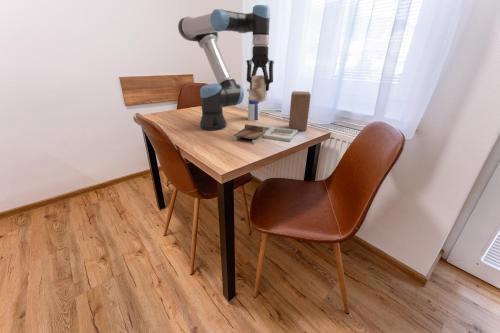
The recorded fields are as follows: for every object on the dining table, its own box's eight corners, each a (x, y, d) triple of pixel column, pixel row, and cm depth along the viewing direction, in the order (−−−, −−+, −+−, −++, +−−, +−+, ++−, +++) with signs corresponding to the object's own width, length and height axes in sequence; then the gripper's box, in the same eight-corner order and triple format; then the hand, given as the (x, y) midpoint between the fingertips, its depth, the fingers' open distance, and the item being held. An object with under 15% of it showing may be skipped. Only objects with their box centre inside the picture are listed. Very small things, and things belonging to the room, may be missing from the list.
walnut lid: (234, 136, 108) (233, 130, 107) (244, 129, 118) (244, 124, 117) (256, 139, 104) (256, 133, 103) (265, 132, 114) (265, 126, 112)
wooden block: (306, 131, 122) (311, 94, 113) (288, 130, 124) (291, 93, 115) (305, 126, 131) (310, 91, 122) (289, 125, 132) (292, 90, 124)
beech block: (251, 101, 112) (251, 76, 107) (255, 99, 117) (256, 75, 112) (262, 102, 110) (263, 76, 105) (266, 100, 115) (267, 75, 110)
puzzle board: (231, 140, 109) (231, 137, 108) (252, 126, 130) (252, 124, 129) (284, 148, 99) (284, 145, 98) (297, 132, 120) (297, 129, 119)
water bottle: (254, 116, 151) (255, 78, 140) (261, 119, 145) (263, 79, 134) (244, 118, 148) (244, 78, 136) (251, 121, 141) (251, 79, 130)
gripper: (238, 45, 103) (239, 96, 113) (277, 45, 96) (274, 99, 106) (245, 46, 109) (245, 94, 119) (282, 46, 102) (278, 97, 113)
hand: (259, 96), depth 113 cm, fingers closed on beech block, 6 cm apart
